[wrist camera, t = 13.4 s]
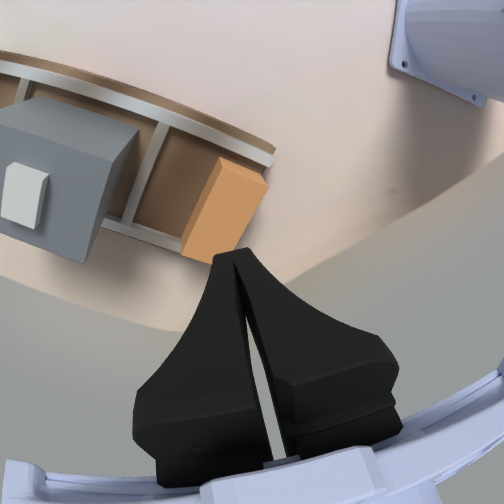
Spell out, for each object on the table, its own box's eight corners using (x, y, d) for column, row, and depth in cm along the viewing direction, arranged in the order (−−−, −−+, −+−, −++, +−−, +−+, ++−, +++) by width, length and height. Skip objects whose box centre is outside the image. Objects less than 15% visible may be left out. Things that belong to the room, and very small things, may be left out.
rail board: (271, 144, 17) (278, 151, 16) (212, 255, 21) (214, 270, 19) (-26, 46, 10) (-40, 47, 8) (-49, 164, 13) (-62, 172, 12)
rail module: (139, 128, 14) (109, 167, 9) (112, 201, 16) (80, 273, 11) (41, 95, 12) (-31, 121, 7) (22, 170, 14) (-40, 225, 9)
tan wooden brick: (260, 174, 16) (268, 186, 15) (220, 250, 18) (223, 268, 17) (219, 156, 15) (222, 167, 14) (181, 237, 18) (181, 254, 16)
